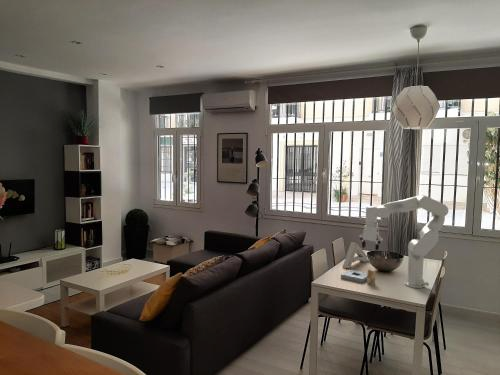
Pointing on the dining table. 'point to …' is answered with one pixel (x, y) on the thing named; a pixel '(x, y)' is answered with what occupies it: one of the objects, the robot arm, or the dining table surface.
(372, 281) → the locking peg
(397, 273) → the dining table surface
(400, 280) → the dining table surface
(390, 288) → the dining table surface
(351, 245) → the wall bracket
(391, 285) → the dining table surface
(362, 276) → the rosette plate
